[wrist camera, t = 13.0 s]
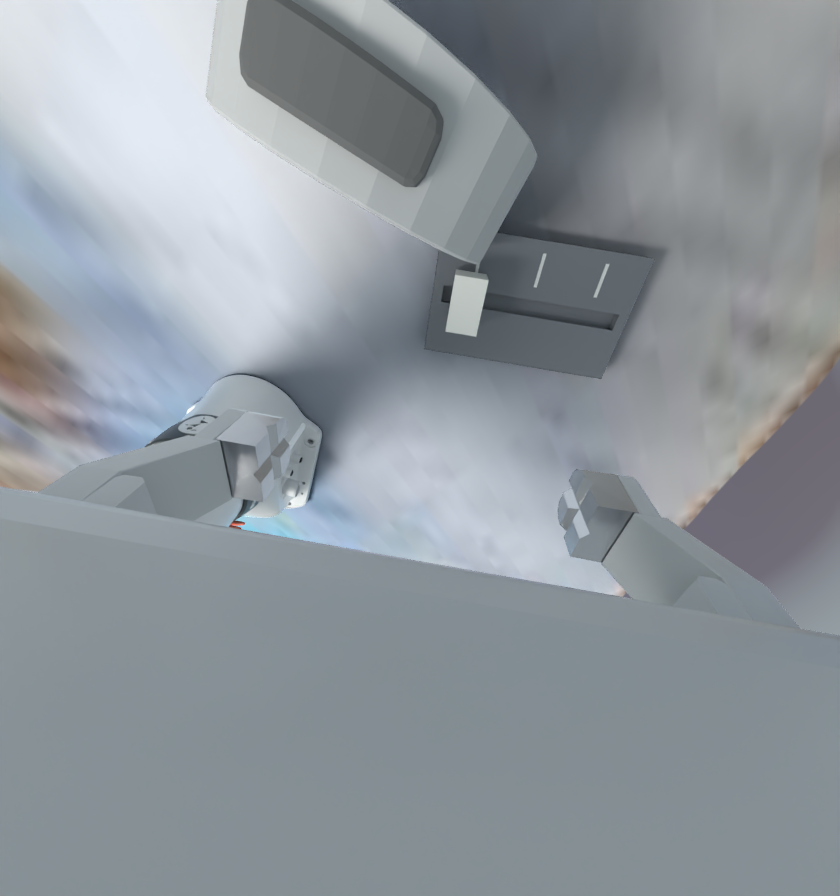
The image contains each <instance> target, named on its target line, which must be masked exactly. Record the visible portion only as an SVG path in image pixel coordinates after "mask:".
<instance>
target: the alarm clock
mask: <svg viewBox="0 0 840 896" xmlns="http://www.w3.org/2000/svg"><path fill="white" fill-rule="evenodd" d="M206 98H207V101H208V102H209V104H210V105H211V106H212V108H213V109H214V110H215V111H216V112H218V113H219V114H220V115H221V116H223V117H224V118H225V119H226V120H228V121H229V122H230V123H231V124H233V125H234V126H235V127H237V128H238V129H239V130H241V131H242V132H244V133H245V134H246V135H248V136H249V137H251V138H252V139H254V140H255V141H257V142H258V143H260V144H261V145H262V146H264V147H265V148H267V149H268V150H270V151H271V152H273V153H274V154H276V155H277V156H279V157H280V158H282V159H284V160H285V161H287V162H288V163H290V164H291V165H293V166H295V167H296V168H298V169H299V170H301V171H302V172H304V173H306V174H307V175H309V176H310V177H312V178H313V179H315V180H317V181H318V182H320V183H322V184H323V185H325V186H327V187H328V188H330V189H332V190H333V191H335V192H337V193H338V194H340V195H342V196H343V197H345V198H347V199H348V200H350V201H352V202H353V203H355V204H357V205H358V206H360V207H362V208H363V209H365V210H367V211H369V212H370V213H372V214H374V215H376V216H377V217H379V218H381V219H383V220H385V221H386V222H388V223H390V224H392V225H393V226H395V227H397V228H399V229H401V230H402V231H404V232H406V233H408V234H410V235H412V236H414V237H416V238H417V239H419V240H421V241H423V242H425V243H427V244H429V245H431V246H433V247H435V248H437V249H439V250H441V251H443V252H445V253H447V254H450V255H452V256H454V257H456V258H458V259H461V260H463V261H466V262H470V263H473V264H478V263H479V262H481V260H482V259H483V257H484V255H485V253H486V251H487V250H488V248H489V246H490V244H491V243H492V241H493V239H494V237H495V235H496V234H497V232H498V230H499V228H500V226H501V225H502V223H503V221H504V219H505V218H506V216H507V214H508V212H509V210H510V209H511V207H512V205H513V203H514V201H515V200H516V198H517V196H518V194H519V192H520V191H521V189H522V187H523V185H524V184H525V182H526V180H527V178H528V176H529V175H530V173H531V171H532V169H533V167H534V166H535V163H536V159H537V152H536V150H535V148H534V146H533V143H532V141H531V139H530V137H529V136H528V135H527V133H526V132H525V131H524V129H523V128H522V127H521V125H520V124H519V123H518V121H517V120H516V119H515V117H514V116H513V115H512V113H511V112H510V111H509V110H508V109H507V108H506V106H505V105H504V104H503V103H502V102H501V101H500V100H499V99H498V98H497V97H496V96H495V95H494V94H493V93H492V92H491V91H490V90H489V89H488V87H487V86H486V85H485V84H484V83H483V82H482V81H481V80H480V79H479V78H478V77H477V76H476V75H475V74H474V73H473V72H472V71H471V70H470V69H469V68H467V67H466V66H465V65H464V64H463V63H462V62H461V61H460V60H459V59H457V58H456V57H455V56H454V55H453V54H452V53H451V52H450V51H449V50H448V49H446V48H445V47H444V46H443V45H442V44H441V43H440V42H439V41H438V40H436V39H435V38H434V37H433V36H432V35H431V34H430V33H429V32H428V31H426V30H425V29H424V28H423V27H421V26H420V25H419V24H418V23H416V22H415V21H414V20H412V19H411V18H410V17H409V16H407V15H406V14H405V13H404V12H402V11H401V10H400V9H399V8H397V7H396V6H395V5H394V4H392V3H391V2H390V1H389V0H217V6H216V14H215V23H214V31H213V40H212V48H211V56H210V65H209V73H208V82H207V90H206Z"/></svg>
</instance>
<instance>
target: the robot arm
mask: <svg viewBox="0 0 840 896" xmlns="http://www.w3.org/2000/svg"><path fill="white" fill-rule="evenodd" d="M309 439H311V440H312V441H313V442H311V441H310V440H309ZM321 439H322V431H321V430H320V428H319V427H318V426H317V425H315V424H314V423H313V422H311V421H310V420H309V419H307V418H306V417H305V416H304V415H303V414H302V413H301V411H300V410H299V409H298V407H297V406H296V404H295V403H294V402H293V401H292V400H291V398H290V397H289V396H288V395H286V394H285V393H284V392H283V391H282V390H280V389H279V388H278V387H276V386H274V385H273V384H271V383H269V382H267V381H265V380H262V379H260V378H257V377H253V376H248V375H232V376H227V377H224V378H222V379H220V380H218V381H217V382H215V383H214V384H213V385H212V386H211V388H210V389H209V390H208V392H207V393H206V395H205V396H204V397H203V398H202V399H201V401H199V402H197V403H195V404H193V405H192V406H191V407H190V408H189V409H188V410H187V415H186V416H185V417H184V418H183V419H182V420H181V421H179V422H178V423H177V424H175V425H174V426H172V427H170V428H168V429H167V430H166V431H164V432H163V433H162V434H160V435H159V436H158V437H156V438H154V439H153V440H151V441H150V442H149V444H148V445H146V446H145V447H144V448H140V449H137V450H133V451H130V452H126V453H122V454H119V455H115V456H112V457H108V458H104V459H101V460H97V461H94V462H90V463H86V464H83V465H80V466H78V467H77V468H75V469H74V470H72V471H70V472H69V473H67V474H66V475H64V476H63V477H61V478H60V479H58V480H57V481H55V482H53V483H52V484H50V485H49V486H47V487H46V488H44V489H43V490H41V491H39V492H38V493H33V492H28V491H22V490H17V489H11V488H6V487H0V896H840V636H839V635H834V634H828V633H822V632H816V631H811V630H805V629H801V628H800V627H799V626H798V625H797V624H796V622H795V621H794V620H793V619H792V617H791V616H790V615H789V614H788V613H787V611H786V610H785V609H784V608H783V607H782V605H781V604H780V603H779V601H778V600H777V599H776V598H775V596H774V595H773V594H772V593H771V592H770V590H769V589H768V588H767V587H766V586H765V585H763V584H762V583H761V582H759V581H758V580H756V579H755V578H753V577H751V576H750V575H749V574H747V573H746V572H745V571H743V570H742V569H740V568H739V567H737V566H736V565H734V564H733V563H731V562H730V561H728V560H727V559H726V558H724V557H723V556H721V555H720V554H718V553H717V552H715V551H714V550H712V549H711V548H709V547H708V546H707V545H705V544H704V543H702V542H700V541H699V540H698V539H696V538H695V537H693V536H692V535H691V534H689V533H687V532H686V531H685V530H683V529H682V528H680V527H679V526H677V525H676V524H674V523H673V522H672V521H670V520H669V519H667V518H661V516H660V515H659V513H658V512H657V510H656V509H655V507H654V506H653V504H652V503H651V501H650V500H649V498H648V497H647V495H646V493H645V492H644V490H643V489H642V487H641V486H640V484H639V483H638V481H637V480H636V479H635V478H633V477H629V476H622V475H615V474H607V473H600V472H593V471H587V470H580V469H576V470H575V471H574V472H573V473H572V475H571V477H570V479H569V482H570V485H571V487H572V488H570V489H568V490H567V491H565V492H563V494H562V497H561V499H560V501H559V507H558V519H559V522H560V525H561V526H562V527H563V528H564V529H565V530H566V531H567V532H566V534H565V536H564V539H565V542H566V545H567V548H568V552H569V555H570V556H571V557H576V558H581V559H586V560H591V561H596V562H601V563H602V565H603V566H604V568H605V569H606V570H607V571H608V572H609V573H610V574H611V575H612V577H613V578H614V579H615V580H616V581H617V582H618V583H619V584H620V586H621V587H622V588H623V589H624V590H625V591H626V592H627V593H628V595H629V596H630V597H631V598H632V599H630V598H624V597H619V596H613V595H608V594H602V593H597V592H591V591H585V590H580V589H574V588H568V587H563V586H557V585H551V584H546V583H540V582H534V581H529V580H523V579H518V578H512V577H506V576H501V575H495V574H489V573H484V572H478V571H472V570H467V569H461V568H455V567H450V566H444V565H439V564H433V563H427V562H422V561H416V560H411V559H405V558H399V557H394V556H388V555H383V554H377V553H372V552H366V551H360V550H355V549H349V548H343V547H338V546H332V545H326V544H321V543H315V542H309V541H304V540H298V539H293V538H287V537H281V536H276V535H270V534H264V533H259V532H253V531H247V530H242V529H241V528H240V527H237V525H244V524H245V523H244V522H240V521H235V520H236V519H238V518H239V517H241V516H247V517H255V518H269V517H274V516H277V515H279V514H280V513H282V511H283V510H284V509H288V508H297V507H301V506H304V505H305V504H306V503H307V501H308V498H309V494H310V490H311V485H312V480H313V476H314V471H315V467H316V462H317V457H318V453H319V448H320V444H321ZM233 525H235V526H233Z"/></svg>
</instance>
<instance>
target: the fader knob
mask: <svg viewBox="0 0 840 896" xmlns="http://www.w3.org/2000/svg"><path fill="white" fill-rule="evenodd" d="M488 281H489V280H488V277H487V274H482V273H476V272H470V271H464V270H458V269H456V273H455V278H454V284H453V290H452V296H451V301H450V307H449V313H448V319H447V324H446V330H445V332H451V333H457V334H463V335H469V336H475V337H476V335H477V330H478V326H479V322H480V317H481V313H482V308H483V304H484V299H485V295H486V290H487V286H488Z"/></svg>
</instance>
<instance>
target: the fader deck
mask: <svg viewBox="0 0 840 896" xmlns="http://www.w3.org/2000/svg"><path fill="white" fill-rule="evenodd" d="M654 260H655V259H653V258H648V257H643V256H637V255H631V254H625V253H619V252H613V251H607V250H601V249H595V248H589V247H583V246H577V245H571V244H565V243H559V242H553V241H547V240H541V239H534V238H528V237H522V236H516V235H510V234H504V233H498V232H497V234H496V235H495V237H494V239H493V241H492V243H491V244H490V246H489V248H488V250H487V251H486V253H485V255H484V257H483V259H482V260H481V262H479V263H478V264H473V263H470V262H466V261H463V260H461V259H458V258H456V257H454V256H452V255H450V254H447V253H445V252H443V251H441V250H439V253H438V259H437V266H436V273H435V280H434V287H433V294H432V301H431V307H430V314H429V321H428V328H427V335H426V342H425V348H424V349H427V350H433V351H439V352H445V353H451V354H457V355H463V356H469V357H474V358H480V359H486V360H492V361H498V362H504V363H510V364H516V365H522V366H527V367H533V368H539V369H545V370H551V371H557V372H563V373H569V374H574V375H580V376H586V377H592V378H598V379H601V378H602V376H603V374H604V371H605V369H606V367H607V365H608V362H609V360H610V358H611V356H612V354H613V351H614V349H615V347H616V345H617V342H618V340H619V338H620V336H621V334H622V331H623V329H624V327H625V325H626V322H627V320H628V318H629V316H630V314H631V311H632V309H633V307H634V305H635V302H636V300H637V298H638V296H639V293H640V291H641V289H642V287H643V285H644V282H645V280H646V278H647V276H648V273H649V271H650V269H651V267H652V265H653V262H654ZM456 269H458V270H464V271H470V272H476V273H482V274H487V277H488V280H489V281H488V286H487V290H486V295H485V299H484V304H483V308H482V313H481V317H480V322H479V326H478V330H477V335H476V337H475V336H469V335H463V334H457V333H451V332H445V330H446V324H447V319H448V313H449V307H450V301H451V296H452V290H453V284H454V278H455V273H456Z"/></svg>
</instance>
